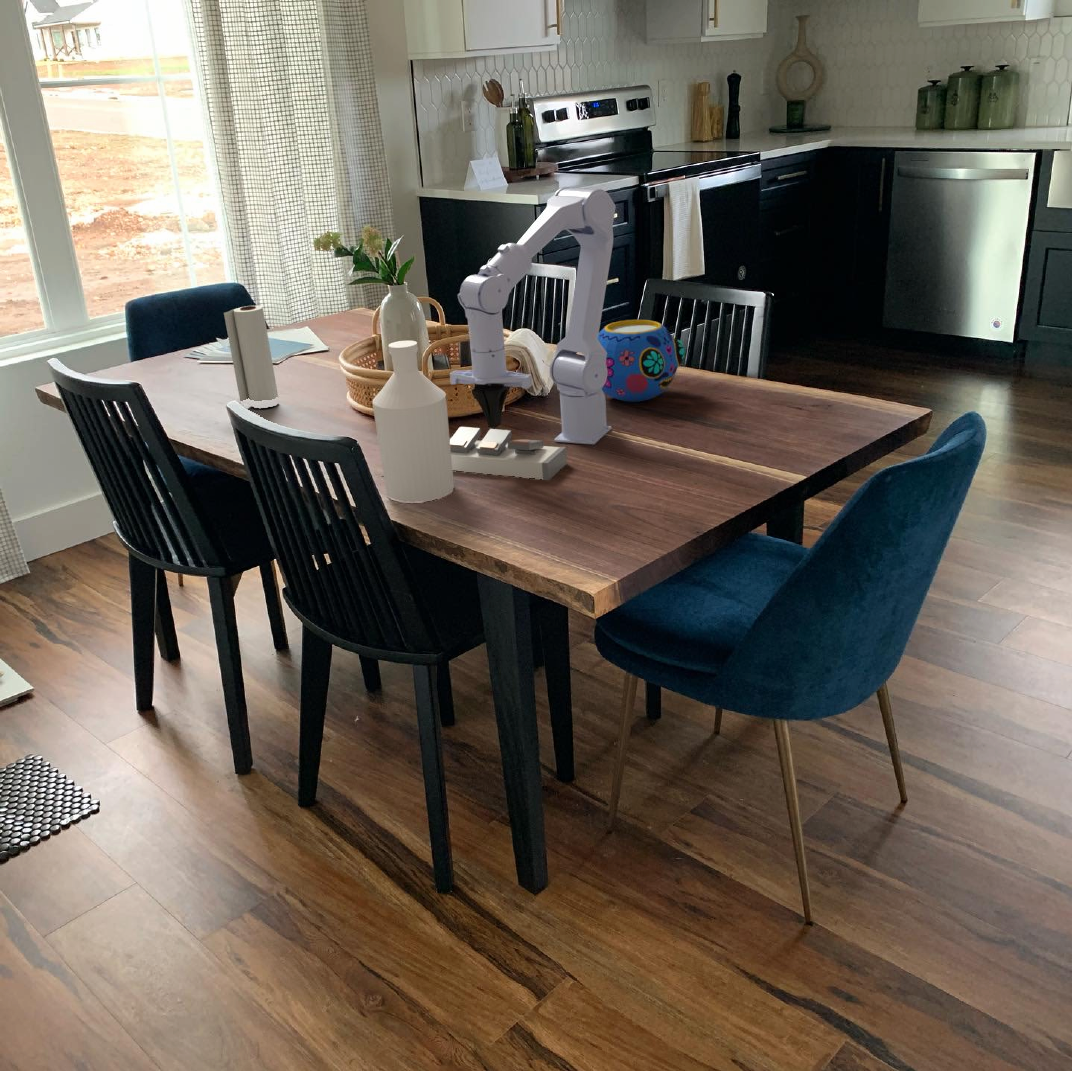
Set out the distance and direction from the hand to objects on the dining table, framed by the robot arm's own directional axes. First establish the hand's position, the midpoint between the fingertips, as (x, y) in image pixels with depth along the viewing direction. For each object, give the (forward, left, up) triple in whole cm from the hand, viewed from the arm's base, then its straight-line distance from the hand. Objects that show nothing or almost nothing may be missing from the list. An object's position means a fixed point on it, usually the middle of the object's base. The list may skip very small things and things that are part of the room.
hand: (494, 425), depth 184 cm
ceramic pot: (-43, +11, -8) cm, 45 cm away
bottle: (+14, -8, -8) cm, 17 cm away
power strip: (0, -3, -7) cm, 8 cm away
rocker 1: (0, -6, -3) cm, 7 cm away
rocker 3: (0, +6, -3) cm, 6 cm away
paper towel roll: (-22, -67, -8) cm, 71 cm away
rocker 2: (0, 0, -3) cm, 3 cm away
